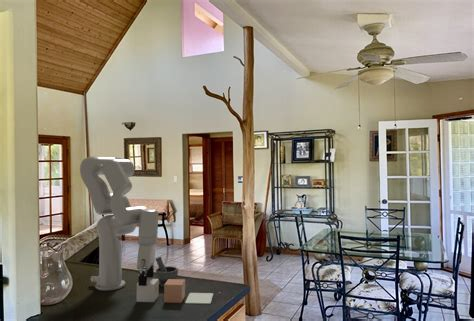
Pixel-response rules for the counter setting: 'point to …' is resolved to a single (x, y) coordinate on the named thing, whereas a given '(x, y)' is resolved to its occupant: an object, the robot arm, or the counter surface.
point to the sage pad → (199, 298)
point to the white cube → (148, 291)
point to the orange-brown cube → (174, 290)
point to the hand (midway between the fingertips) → (146, 281)
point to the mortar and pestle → (165, 272)
